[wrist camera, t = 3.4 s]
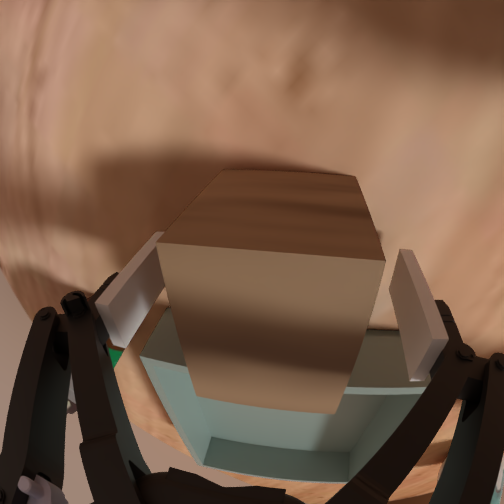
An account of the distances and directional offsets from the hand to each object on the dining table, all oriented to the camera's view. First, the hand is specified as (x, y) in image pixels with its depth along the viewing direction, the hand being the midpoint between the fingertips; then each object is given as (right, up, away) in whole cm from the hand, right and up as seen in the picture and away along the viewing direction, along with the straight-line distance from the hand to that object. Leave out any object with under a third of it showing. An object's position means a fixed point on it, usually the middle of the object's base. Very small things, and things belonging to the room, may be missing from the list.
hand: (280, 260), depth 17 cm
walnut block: (0, +1, +1) cm, 2 cm away
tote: (+2, -15, +10) cm, 18 cm away
